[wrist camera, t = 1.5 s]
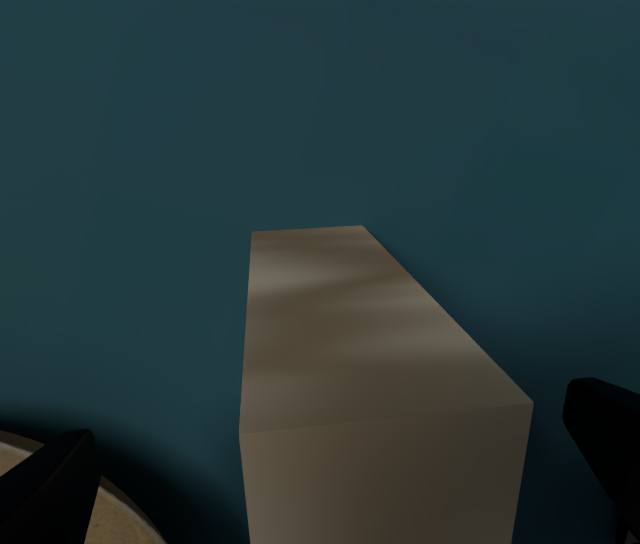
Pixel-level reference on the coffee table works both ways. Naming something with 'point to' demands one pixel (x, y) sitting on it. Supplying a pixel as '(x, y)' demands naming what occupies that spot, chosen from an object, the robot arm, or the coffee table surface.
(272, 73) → the coffee table surface
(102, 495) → the plant saucer
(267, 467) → the taupe streaky block
